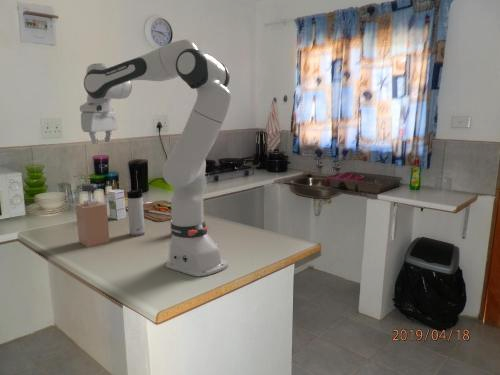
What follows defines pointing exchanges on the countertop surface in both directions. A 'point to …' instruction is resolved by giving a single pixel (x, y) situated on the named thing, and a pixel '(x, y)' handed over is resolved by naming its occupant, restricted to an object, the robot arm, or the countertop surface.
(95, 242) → the dispenser
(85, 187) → the pump head
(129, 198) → the travel mug
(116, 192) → the syrup box
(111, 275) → the countertop surface
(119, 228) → the countertop surface
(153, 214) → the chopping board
